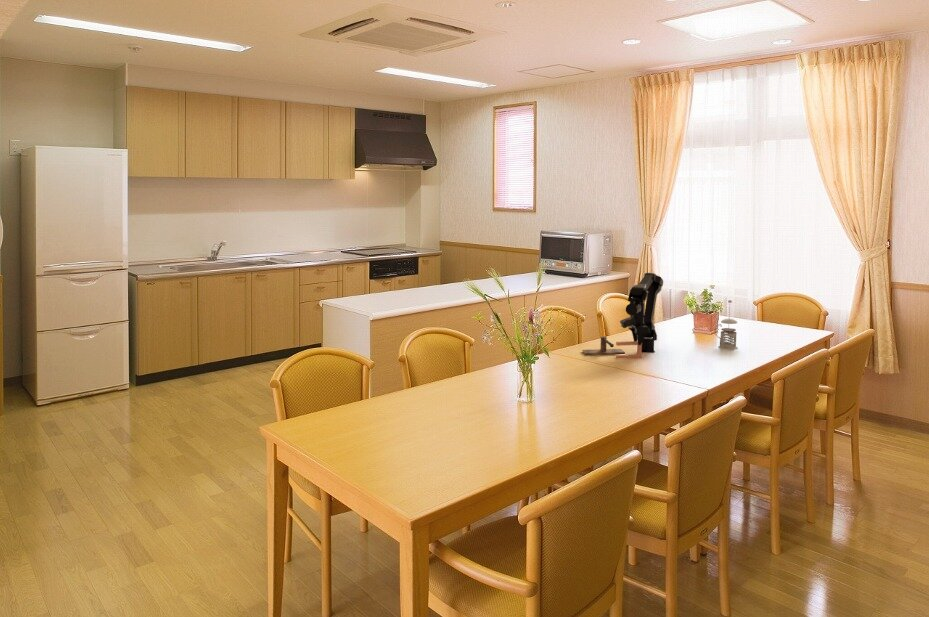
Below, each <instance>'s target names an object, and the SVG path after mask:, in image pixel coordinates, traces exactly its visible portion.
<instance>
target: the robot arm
mask: <svg viewBox="0 0 929 617" xmlns="http://www.w3.org/2000/svg"><path fill="white" fill-rule="evenodd" d="M639 281H640V282H639V283H638V284H634V285H633V286H632V287H631V288H630V290H629V293H628V297H627V302H629V304H627V305H626V307H625V312H626V314H627V315H629V317H626V318H624V319H621V320H619V323H620V325H621V328H623V329H626V328H628V329H629V330H630V331H631V333H632V334H631V335H632V339H633V341H638V345H641V343H642V353H643V352H644V353H656V351H655V342H656V341H658V334H657V332H656V326H655V324H654V317H655V316H654V315H655V311H656V310H655V309H656V304H657V297H658V294H659V293H660V292H661V291H662V288H663V285H664V279H663V278H662V277H661V276H660V275H658V274H656V273H654V272H645V273H644V276H643V277H642V278H641V280H639ZM645 302H646V303H645Z"/></svg>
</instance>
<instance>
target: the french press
mask: <svg viewBox="0 0 929 617" xmlns="http://www.w3.org/2000/svg"><path fill="white" fill-rule="evenodd" d="M727 303H729V304H731V303H733V301H732V300H731V299H729V300H727ZM730 309H731V307H729V308H728V310H729V312H728V318H723V319H722V320H720V323H719V324H717V325H716V326H715V328H714V334H715V336H716V337H717V338H718V339H719V346H717V348H718V349H720V350H727V351H728V350H730V351H731V350H732V351H733V350H738V346H737V333H738V332H736V331H737V330H736V328H731V327H723V325H722V324H728V325H735V324H738V321H737V320H735V319H733V318H730V315H731V314H730V313H731V310H730ZM719 326H720V328H721V331H720V336H718V335H717V328H718V327H719ZM722 327H723V328H722Z"/></svg>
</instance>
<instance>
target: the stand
mask: <svg viewBox="0 0 929 617" xmlns="http://www.w3.org/2000/svg"><path fill="white" fill-rule="evenodd" d="M607 345H608V346H610V348H607ZM581 351H583V352H582V354H583V355H584V356H585V355H589V356H615V355H614V354H625V355H626V351H624V350H623V349H621V348H614V344H613V343H611V342H610V341H609V340H608V339H607V337H606V336H600V348H599V349H597V348H596V349H581Z"/></svg>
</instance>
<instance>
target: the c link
mask: <svg viewBox="0 0 929 617" xmlns="http://www.w3.org/2000/svg"><path fill="white" fill-rule="evenodd" d="M615 345H616V346H617V347H618V346H619V347H621V346H637V347H636V350H637V351H636V353H635V354H625V355H615V358H616V359H617V358H626V359H642V353H643V352H642V343H641V345H638V340H637V341H634V340H633V341H632V340H631V341H628V340H627V341H615Z"/></svg>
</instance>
